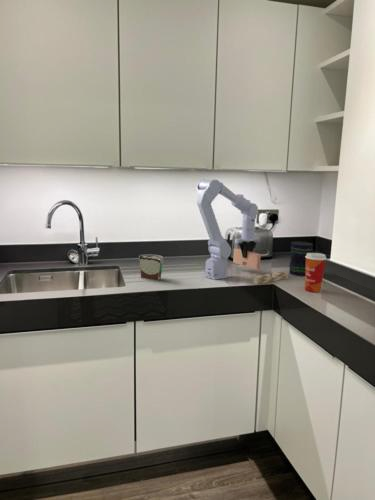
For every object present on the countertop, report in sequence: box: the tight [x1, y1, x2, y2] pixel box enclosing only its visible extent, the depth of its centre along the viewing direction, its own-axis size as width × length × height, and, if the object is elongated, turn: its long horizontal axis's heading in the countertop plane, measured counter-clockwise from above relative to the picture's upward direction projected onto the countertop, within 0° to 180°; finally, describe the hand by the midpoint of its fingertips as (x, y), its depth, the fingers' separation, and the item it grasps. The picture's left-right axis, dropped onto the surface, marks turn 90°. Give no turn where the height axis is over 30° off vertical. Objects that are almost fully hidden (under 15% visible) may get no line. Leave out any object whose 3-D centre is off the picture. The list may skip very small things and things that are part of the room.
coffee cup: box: [304, 252, 327, 294], centre depth 152 cm, size 8×8×15 cm
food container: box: [138, 253, 165, 282], centre depth 164 cm, size 12×6×10 cm, turn 59°
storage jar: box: [288, 240, 314, 277], centre depth 179 cm, size 10×10×15 cm
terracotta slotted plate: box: [232, 247, 262, 270], centre depth 177 cm, size 16×2×7 cm, turn 35°
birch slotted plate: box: [252, 270, 289, 285], centre depth 166 cm, size 20×2×3 cm, turn 125°
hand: (246, 257), depth 177 cm, fingers closed on terracotta slotted plate, 2 cm apart
